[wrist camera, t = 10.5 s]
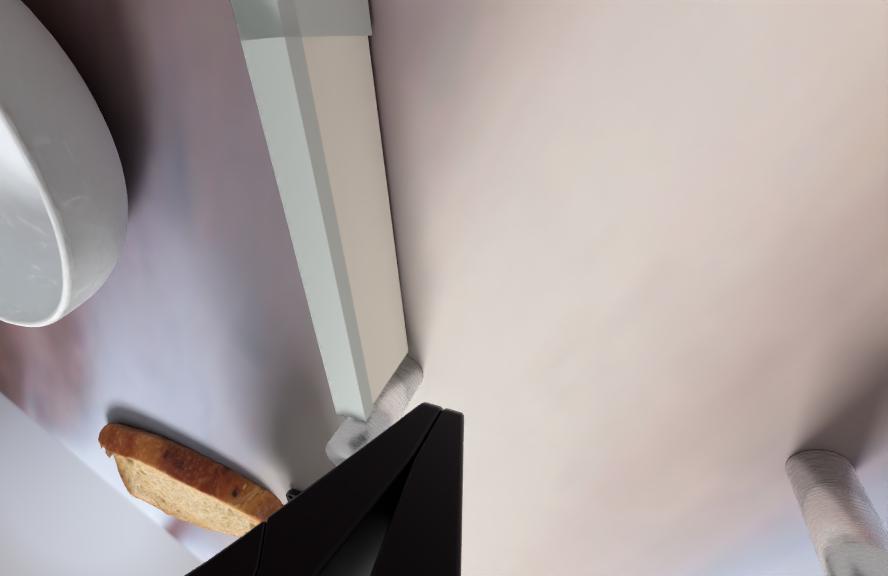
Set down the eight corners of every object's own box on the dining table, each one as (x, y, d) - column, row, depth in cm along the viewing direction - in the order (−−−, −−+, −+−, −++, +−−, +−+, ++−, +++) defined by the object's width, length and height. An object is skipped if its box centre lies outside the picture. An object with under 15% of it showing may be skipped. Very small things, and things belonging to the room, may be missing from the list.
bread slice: (302, 517, 41) (277, 556, 38) (219, 535, 51) (193, 567, 48) (163, 379, 37) (122, 409, 34) (103, 427, 47) (67, 455, 44)
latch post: (777, 478, 20) (830, 633, 15) (797, 443, 19) (862, 599, 14) (838, 493, 20) (916, 661, 14) (863, 458, 18) (959, 629, 13)
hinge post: (387, 381, 27) (329, 467, 21) (384, 350, 25) (321, 434, 20) (423, 390, 26) (372, 482, 21) (421, 359, 25) (367, 448, 19)
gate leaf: (411, 352, 24) (365, 421, 20) (386, 347, 25) (336, 413, 20) (366, -16, 16) (269, -33, 12) (328, -11, 16) (223, -25, 12)
